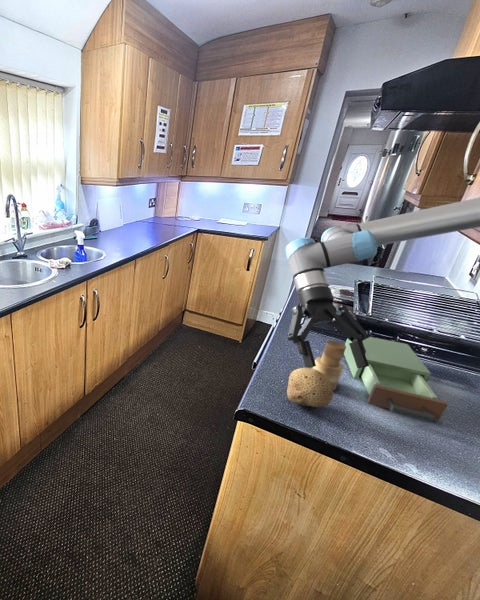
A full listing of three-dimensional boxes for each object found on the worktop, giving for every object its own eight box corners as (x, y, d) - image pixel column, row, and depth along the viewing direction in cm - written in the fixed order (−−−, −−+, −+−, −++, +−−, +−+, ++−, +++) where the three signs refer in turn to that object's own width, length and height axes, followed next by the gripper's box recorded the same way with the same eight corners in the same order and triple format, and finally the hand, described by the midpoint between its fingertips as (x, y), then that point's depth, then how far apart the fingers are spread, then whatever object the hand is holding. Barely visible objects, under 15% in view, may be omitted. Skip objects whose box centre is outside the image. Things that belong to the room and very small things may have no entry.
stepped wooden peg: (333, 382, 88) (348, 342, 84) (337, 395, 84) (353, 353, 79) (307, 376, 91) (320, 336, 86) (309, 387, 86) (323, 346, 81)
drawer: (446, 434, 70) (457, 416, 68) (372, 414, 76) (380, 397, 74) (413, 384, 87) (421, 369, 85) (354, 370, 92) (360, 356, 90)
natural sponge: (330, 405, 79) (343, 372, 75) (320, 424, 74) (334, 389, 70) (288, 388, 85) (298, 356, 81) (277, 404, 80) (287, 371, 76)
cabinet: (419, 395, 84) (431, 373, 81) (353, 379, 90) (361, 358, 87) (398, 363, 98) (407, 344, 95) (342, 351, 104) (349, 332, 101)
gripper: (346, 296, 94) (372, 369, 86) (261, 295, 94) (279, 369, 85) (368, 285, 87) (398, 364, 79) (277, 284, 87) (298, 364, 78)
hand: (337, 367), depth 82 cm, fingers open, 13 cm apart
